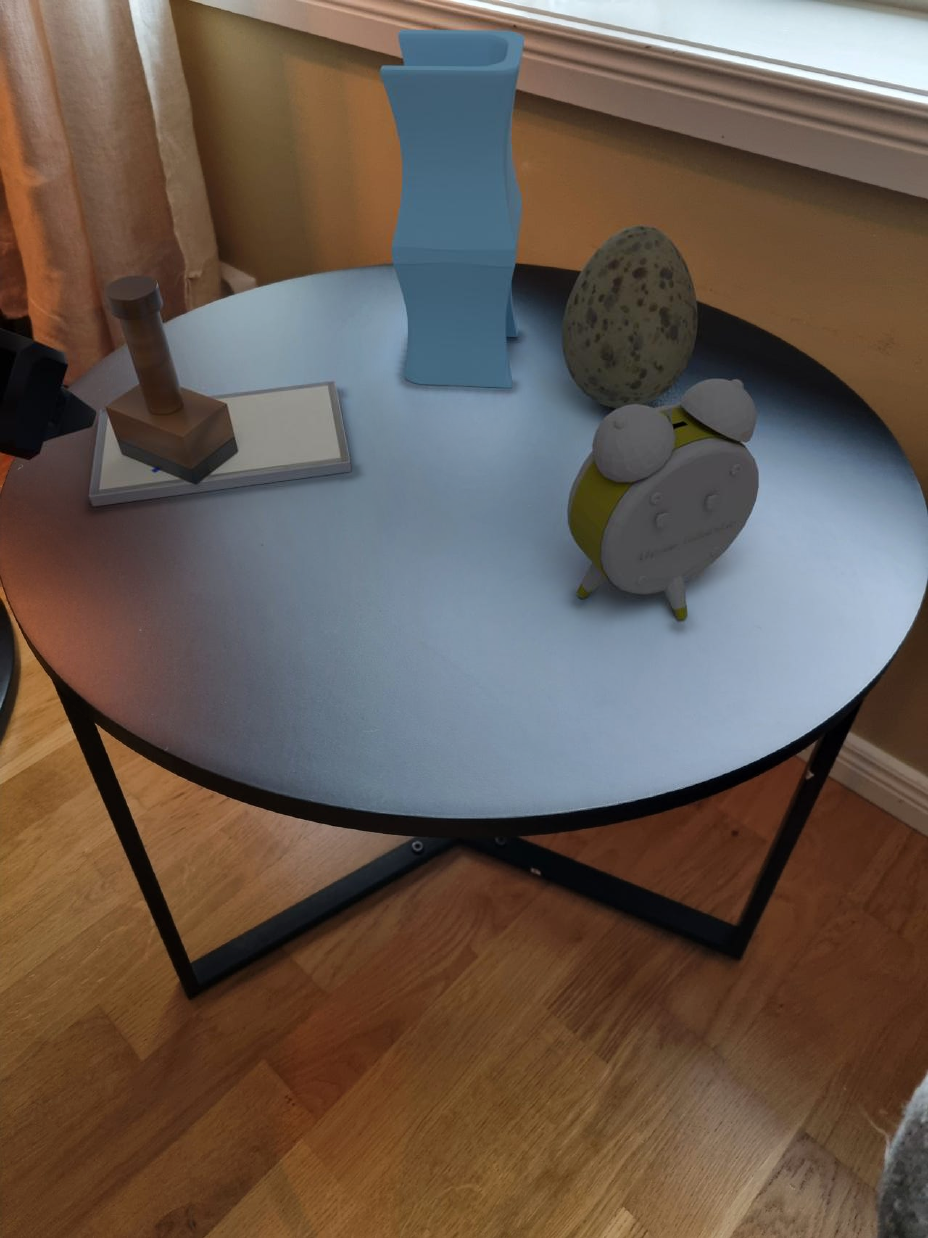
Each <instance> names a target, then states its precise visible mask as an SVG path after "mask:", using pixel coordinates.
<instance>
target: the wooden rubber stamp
mask: <svg viewBox="0 0 928 1238" xmlns="http://www.w3.org/2000/svg"><path fill="white" fill-rule="evenodd" d="M104 295H105V299H106V301H107V305H108V308H109V312H110V314H111V315H112V316H113V317H115V319H118V320H119V323H120V326H121V330H122V333H123V336H124V339H125V343H126V345H127V349H128V351H129V355H130V358H131V361H132V365H133V368H134V370H135V374H136V377H137V380H138V384H137V385H135V386H134V387H132V388H130V389H129V390H128V391H126V392H125V393H123V394H122V395H120V396H119V397H117V398H116V399H114V400H112V401H111V402H109V403H108V404H106V405H105V406H104V409H106V411H107V414H108V417H109V420H110V423H111V425H112V428H113V431H114V434H115V437H116V439H117V442H118V445H119V448H120V451H121V453H122V454H123V455H125V456H127V457H130V458H132V459H135V460H137V461H139V462H142V463H144V464H147V465H149V466H152V467H154V468H156V469H159V470H161V471H164V472H166V473H169V474H171V475H173V476H176V477H178V478H181V479H183V480H185V481H188V482H190V483H193V484H195V485H197V484H198V483H199V482H200V481H202V480H203V479H204V478H205V477H207V476H208V475H209V474H210V473H212V472H213V471H214V470H216V469H217V468H218V467H219V466H221V465H222V464H223V463H224V462H226V461H227V460H228V459H229V458H231V457H232V456H233V455H234V454H236V453H237V452H238V448H237V443H236V439H235V435H234V430H233V426H232V422H231V418H230V414H229V410H228V405H227V403H224V402H221V401H218V400H216V399H213V398H210V397H207V396H208V395H204V394H202V393H199V392H196V391H193V390H191V389H188V388H185V387H182V386H181V384H180V381H179V378H178V374H177V373H178V372H177V370H176V366H175V363H174V359H173V354H172V352H171V348H170V345H169V341H168V338H167V333H166V330H165V326H164V323H163V319H162V317H161V312H160V311H161V310H162V309H163V306H164V301H163V298H162V293H161V290H160V287H159V283H158V281H157V280H156V279H155V278H154V277H151V276H147V275H129V276H124V277H121V278H117V279H115V280H113V281H111V282H110V283H108V284H107V285H106V287H105V288H104Z"/></svg>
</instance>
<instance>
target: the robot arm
mask: <svg viewBox="0 0 928 1238" xmlns="http://www.w3.org/2000/svg"><path fill="white" fill-rule="evenodd" d="M68 368H69V362H68V360H67V356H66V352H64V351H62V350H61V349H60V350H59V349H57V348H55V347H51V346H50V345H47V344H44V343H42V342H40V341H37V340H35V339H33V338H29V337H26V336H24V335H22V334H18V333H15V332H13V331H9V330H7V329H3V328H1V327H0V454H3V455H7V456H10V457H14V458H18V459H22V460H26V461H31V460H33V459H34V458H35V457H37V456H39V455H40V454H41V451H42V449H43V445H44V443H45V442H48V441H50V440H55V439H56V438H60V437H64V436H67V435H70V434H74V433H77V432H80V431H84V430H88V429H91V428H92V427H93V426H94V424H95V420H96V418H97V415H98V414H97V410H96V409H94V408H93V407H91V406H90V405H89V404H87V403H86V402H85V401H84V400H82V399H81V398H80V397H78V395H76V394H75V393H73V392H71V391H70V390H69V389H68V388H66V387H65V386H64V385H63V383H64V380H65V377H66V375H67V371H68Z"/></svg>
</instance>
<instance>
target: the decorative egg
mask: <svg viewBox="0 0 928 1238" xmlns="http://www.w3.org/2000/svg"><path fill="white" fill-rule="evenodd" d="M588 259H589V260H588V261H587V262H586V263H585V265H584V267H583V268H582V269H581V271H580V273H579V275H578V276H577V279H576V281H575V283H574V284H573V287H572V289H571V291H570V294H569V297H568V300H567V302H566V306H565V310H564V314H563V320H562V328H561V347H562V353H563V358H564V362H565V365H566V368H567V370H568V372H569V374H570V377H571V378H572V379H573V381H574V383H575V384H576V385H577V387H578V388H579V389H580V390H581V391H582V393H583V394H585V395H586V396H587V397H588V398H590V399H591V400H592V401H594V402H596V403H598V404H600V405H603V406H606V407H610V408H613V409H615V410H616V409H618V408H621V407H623V406H626V405H633V404H638V405H645V406H646V405H647V404H650V403H651V402H654V401H655V400H657V399H659V398H661V396H663V395H664V394H666V393H667V392H668V391H670V389H671V388H672V387H673V386H674V385H675V384H676V383H677V382H678V381H679V380H680V377H681V376H682V375H683V373H684V372H685V370H686V368H687V366H688V364H689V362H690V359H691V357H692V354H693V351H694V348H695V344H696V339H697V333H698V303H697V295H696V289H695V286H694V282H693V278H692V275H691V273H690V269H689V267H688V264H687V262H686V261H685V259H684V257H683V254H682V253H681V252H680V250H679V249H678V246H676V245H675V243H674V241H672V239H670V238H669V236H668V235H666V234H665V233H664V232H662V230H659V229H658V228H656V227H654V226H651V225H646V224H637V225H636V224H635V225H631V226H628V227H625V228H623V229H621V230H619V231H618V232H615V233H614V234H613V235H611V237H609V238H608V239H607V240H605V241H604V242H603V243H602V244H601V245H600V246H599V247H598V248H597V249H596V250H595V252H594V253H593V254H592V255H591V257H590V258H588Z"/></svg>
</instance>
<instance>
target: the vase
mask: <svg viewBox="0 0 928 1238" xmlns="http://www.w3.org/2000/svg"><path fill="white" fill-rule="evenodd" d="M397 36H398V43H399V48H400V52H401V56H402V61H403V65H382V66H381V68H380V69H379V73H380V77H381V82H382V85H383V87H384V90H385V93H386V96H387V99H388V102H389V105H390V109H391V112H392V116H393V119H394V124H395V127H396V132H397V137H398V141H399V148H400V155H401V162H402V163H401V164H402V165H401V166H402V167H401V168H402V169H401V173H402V174H401V193H400V202H399V203H400V204H399V209H398V215H397V221H396V227H395V230H394V235H393V240H392V244H391V260H392V265H393V268H394V272H395V275H396V277H397V281H398V283H399V284H398V285H399V288H400V290H401V294H402V298H403V302H404V306H405V312H406V319H407V321H406V322H407V343H406V344H407V346H406V354H405V355H406V357H405V365H404V374H403V375H404V376H403V377H404V379H406V380H407V381H409V382H410V383H413V384H416V385H417V384H418V385H429V386H449V387H450V386H451V387H452V386H453V387H475V388H477V387H478V388H502V389H512V388H513V377H512V371H511V366H510V365H511V364H510V358H509V351H508V341H507V338H518V335H519V329H518V325H517V319H516V315H515V310H514V303H513V301H514V300H513V293H512V281H513V280H512V279H513V277H514V272H515V268H516V262H517V253H518V245H519V238H520V237H519V235H520V229H521V224H522V223H521V221H522V214H523V198H522V194H521V191H520V187H519V184H518V179H517V174H516V169H515V165H514V158H513V145H512V143H513V142H512V127H513V113H514V105H515V97H516V90H517V84H518V79H519V75H520V74H519V73H520V70H521V69H520V68H521V63H522V57H523V52H524V48H525V47H524V45H525V37H524V35H523V34H521V33H520V32H515V31H512V30H511V31H510V30H491V29H489V30H487V29H486V30H484V29H483V30H482V29H481V30H479V29H475V30H473V29H400V30H399V32H398V34H397Z"/></svg>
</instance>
